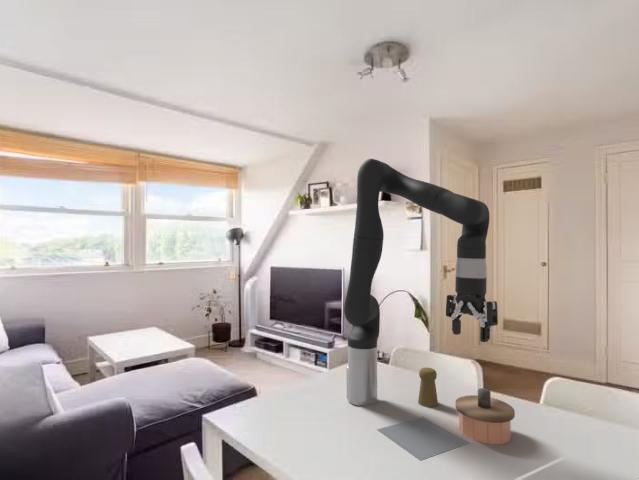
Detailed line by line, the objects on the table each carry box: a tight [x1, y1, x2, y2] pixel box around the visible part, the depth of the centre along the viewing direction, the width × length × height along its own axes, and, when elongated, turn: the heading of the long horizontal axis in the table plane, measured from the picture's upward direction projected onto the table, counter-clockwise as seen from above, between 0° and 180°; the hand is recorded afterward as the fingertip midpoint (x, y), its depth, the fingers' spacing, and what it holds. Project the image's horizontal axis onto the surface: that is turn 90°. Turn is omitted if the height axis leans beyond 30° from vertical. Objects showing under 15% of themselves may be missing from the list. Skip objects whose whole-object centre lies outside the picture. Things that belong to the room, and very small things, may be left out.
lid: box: [455, 387, 516, 423], centre depth 96 cm, size 14×14×5 cm
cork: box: [417, 367, 439, 408], centre depth 114 cm, size 6×6×11 cm
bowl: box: [458, 411, 512, 445], centre depth 96 cm, size 12×12×6 cm
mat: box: [376, 416, 470, 462], centre depth 94 cm, size 16×16×1 cm
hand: (469, 337), depth 97 cm, fingers open, 8 cm apart
